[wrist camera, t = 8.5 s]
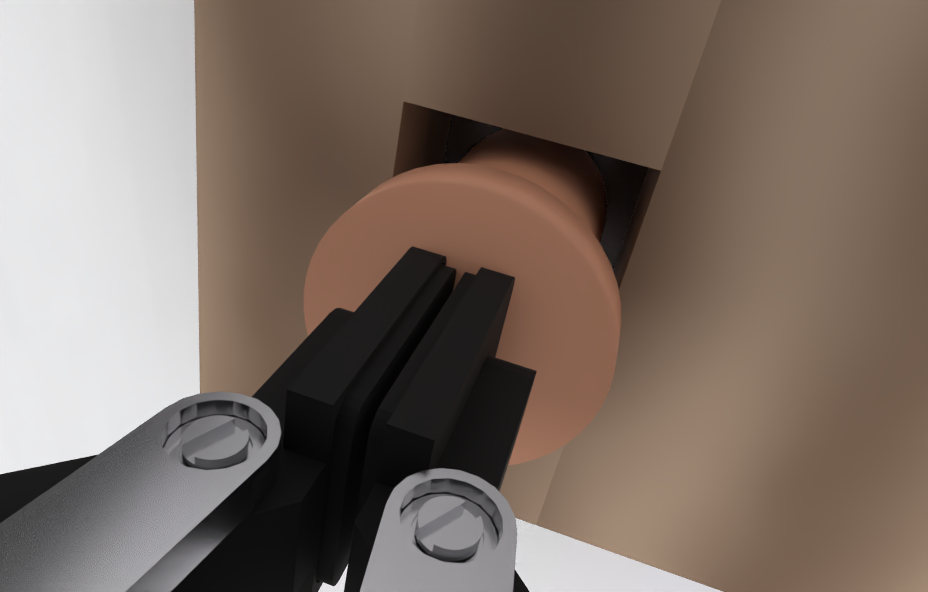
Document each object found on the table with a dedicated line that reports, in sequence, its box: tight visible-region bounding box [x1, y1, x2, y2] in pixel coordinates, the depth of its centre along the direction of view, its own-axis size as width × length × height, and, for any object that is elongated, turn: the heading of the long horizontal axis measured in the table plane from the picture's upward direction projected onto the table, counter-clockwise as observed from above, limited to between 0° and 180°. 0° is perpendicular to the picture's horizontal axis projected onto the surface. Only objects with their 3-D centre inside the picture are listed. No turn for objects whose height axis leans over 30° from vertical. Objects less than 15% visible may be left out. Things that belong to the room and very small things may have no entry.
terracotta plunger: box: [304, 129, 622, 465], centre depth 14 cm, size 5×5×6 cm
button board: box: [194, 0, 928, 592], centre depth 14 cm, size 30×14×4 cm, turn 79°
